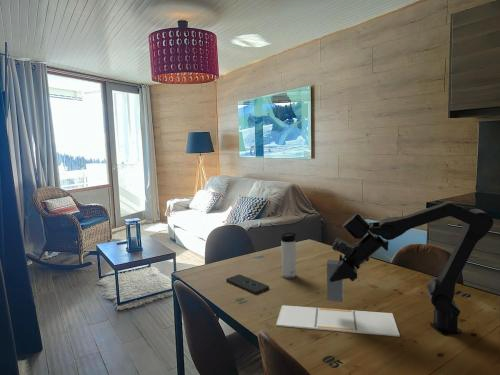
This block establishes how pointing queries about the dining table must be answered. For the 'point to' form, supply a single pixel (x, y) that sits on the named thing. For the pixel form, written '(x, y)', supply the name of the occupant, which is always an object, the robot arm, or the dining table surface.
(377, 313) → the board
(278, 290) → the dining table surface
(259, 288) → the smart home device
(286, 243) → the travel mug
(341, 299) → the translucent grey tumbler
